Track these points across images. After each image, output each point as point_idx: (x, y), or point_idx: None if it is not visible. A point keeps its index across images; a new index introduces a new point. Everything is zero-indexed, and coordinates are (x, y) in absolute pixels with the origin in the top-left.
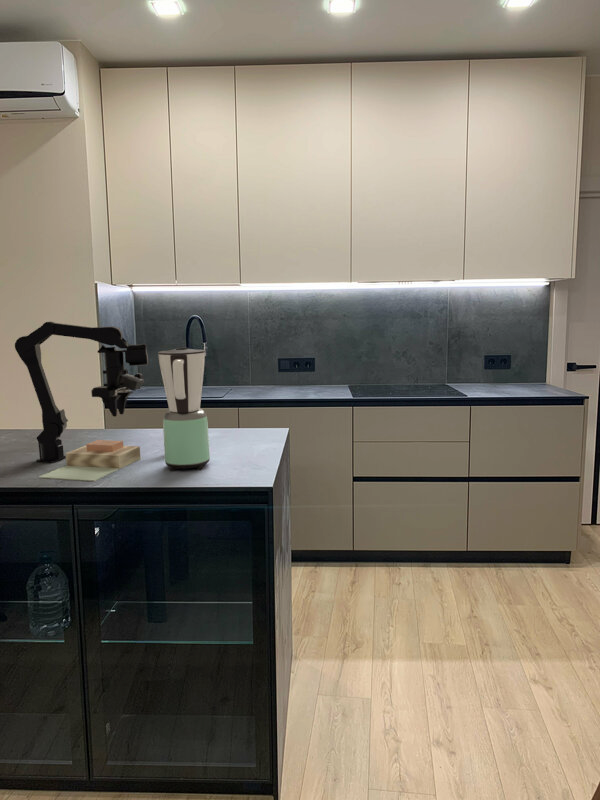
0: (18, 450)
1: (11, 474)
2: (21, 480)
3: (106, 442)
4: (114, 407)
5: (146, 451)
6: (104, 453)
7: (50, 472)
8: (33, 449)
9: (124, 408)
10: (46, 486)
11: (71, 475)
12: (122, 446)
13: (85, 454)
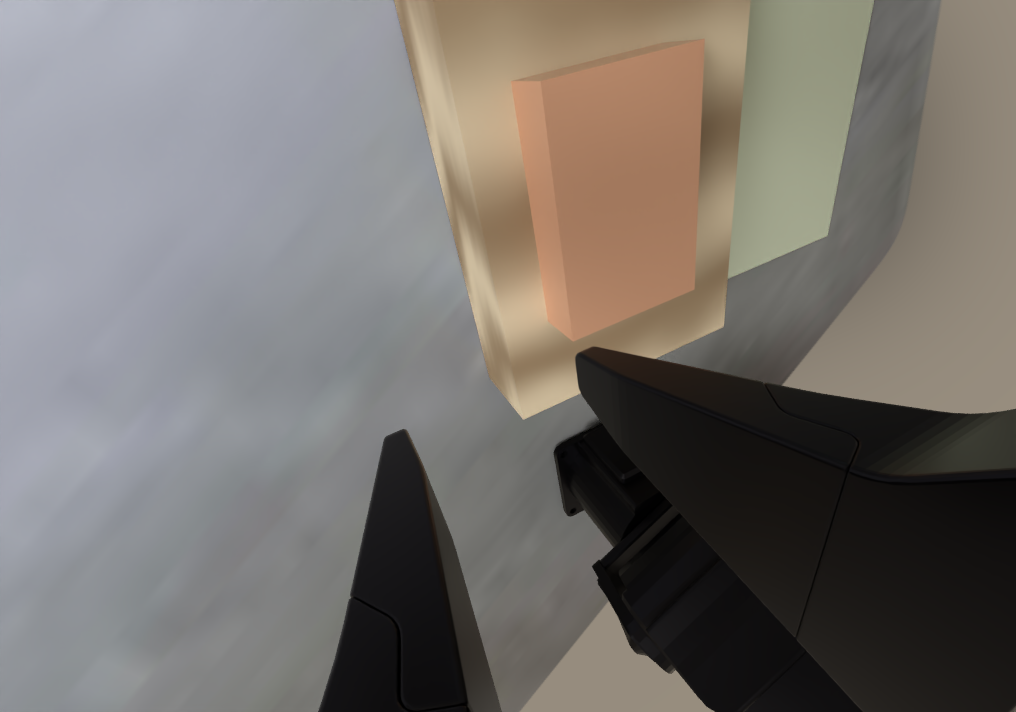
0: (527, 667)
1: (782, 371)
2: (845, 264)
3: (623, 197)
4: (753, 391)
5: (124, 114)
6: (709, 73)
7: (776, 252)
8: (495, 657)
9: (380, 498)
10: (924, 79)
11: (818, 101)
12: (530, 77)
13: (733, 197)
